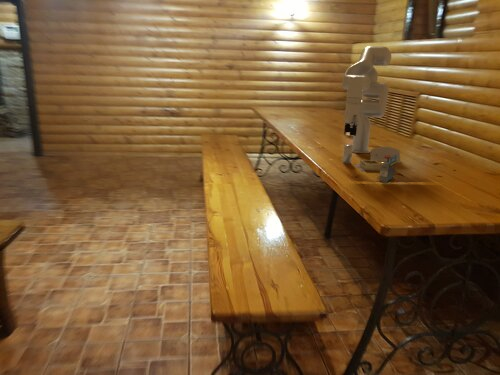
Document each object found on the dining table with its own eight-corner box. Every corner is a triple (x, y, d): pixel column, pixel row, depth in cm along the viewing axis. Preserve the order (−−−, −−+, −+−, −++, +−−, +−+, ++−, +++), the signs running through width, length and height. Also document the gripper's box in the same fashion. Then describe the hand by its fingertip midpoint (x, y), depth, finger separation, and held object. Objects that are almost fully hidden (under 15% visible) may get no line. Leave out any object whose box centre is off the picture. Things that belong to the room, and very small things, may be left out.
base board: (353, 166, 205) (353, 164, 204) (386, 167, 206) (386, 164, 205) (361, 174, 192) (362, 171, 191) (396, 174, 193) (397, 172, 192)
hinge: (370, 163, 212) (371, 145, 213) (368, 164, 217) (369, 146, 217) (401, 164, 211) (402, 146, 211) (398, 165, 216) (399, 147, 216)
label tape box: (385, 178, 186) (388, 153, 182) (393, 180, 184) (397, 155, 180) (378, 182, 180) (381, 156, 176) (386, 184, 177) (390, 158, 173)
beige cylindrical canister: (341, 163, 209) (343, 144, 206) (349, 163, 210) (351, 144, 206) (343, 165, 205) (345, 145, 202) (351, 166, 206) (353, 146, 202)
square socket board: (359, 166, 201) (361, 154, 199) (389, 166, 202) (391, 154, 199) (364, 170, 193) (366, 157, 191) (395, 171, 194) (397, 158, 192)
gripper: (341, 99, 204) (338, 130, 210) (351, 102, 188) (347, 136, 193) (355, 99, 205) (351, 131, 210) (366, 102, 188) (362, 137, 194)
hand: (349, 133), depth 202 cm, fingers open, 9 cm apart
